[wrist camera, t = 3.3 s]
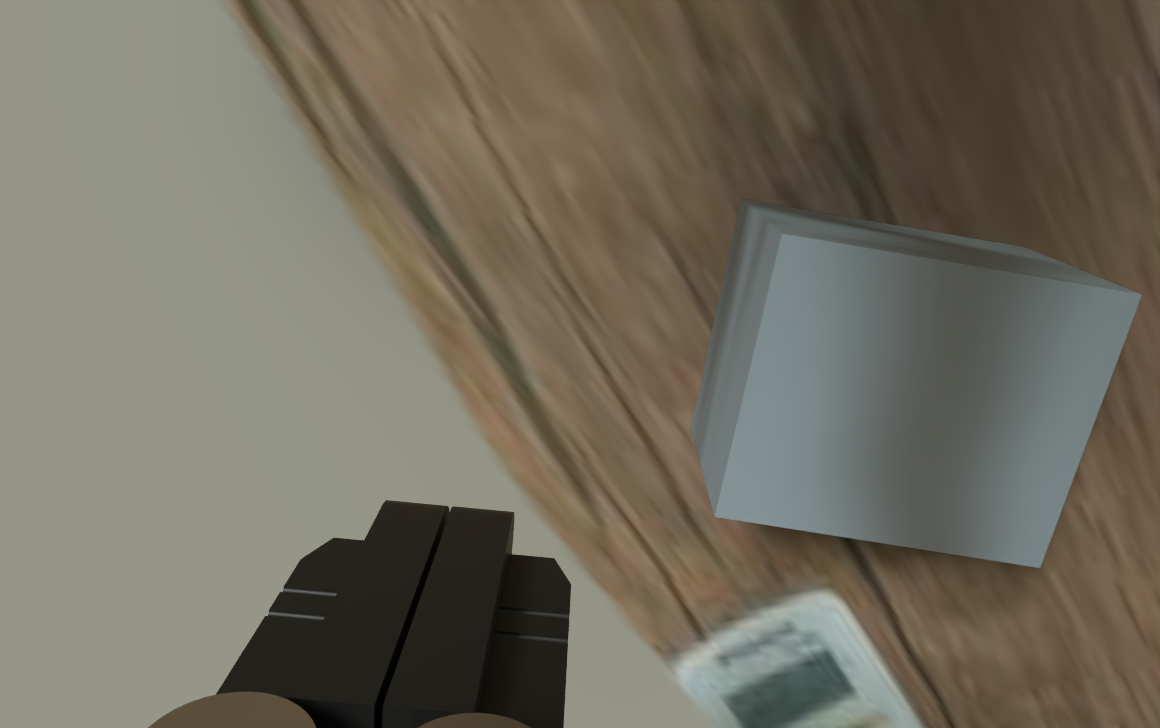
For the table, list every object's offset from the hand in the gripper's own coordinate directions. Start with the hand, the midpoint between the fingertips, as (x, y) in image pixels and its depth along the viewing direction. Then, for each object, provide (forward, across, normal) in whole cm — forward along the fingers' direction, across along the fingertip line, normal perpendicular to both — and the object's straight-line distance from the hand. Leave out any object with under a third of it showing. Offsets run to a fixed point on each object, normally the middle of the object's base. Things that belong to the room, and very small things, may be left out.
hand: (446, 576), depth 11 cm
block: (+12, -8, 0) cm, 15 cm away
